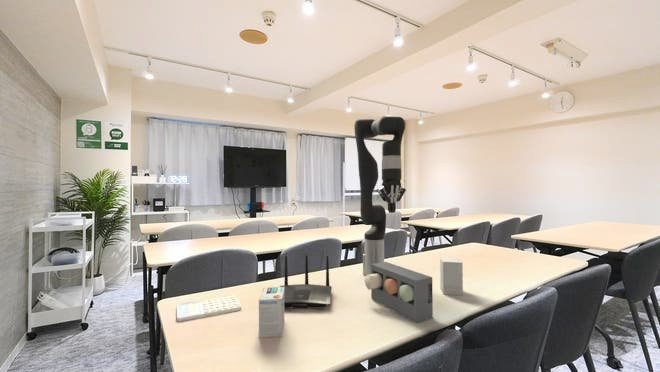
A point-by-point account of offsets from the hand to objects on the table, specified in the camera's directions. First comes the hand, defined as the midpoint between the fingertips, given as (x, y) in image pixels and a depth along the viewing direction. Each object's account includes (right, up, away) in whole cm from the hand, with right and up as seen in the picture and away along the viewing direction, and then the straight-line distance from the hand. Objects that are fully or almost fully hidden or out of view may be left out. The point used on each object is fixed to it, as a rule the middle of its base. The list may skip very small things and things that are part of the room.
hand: (391, 212), depth 117 cm
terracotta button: (-2, -26, -14) cm, 30 cm away
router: (-34, -33, -5) cm, 47 cm away
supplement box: (+24, -32, +3) cm, 40 cm away
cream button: (-8, -26, -9) cm, 29 cm away
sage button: (+2, -26, -20) cm, 33 cm away
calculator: (-66, -33, -12) cm, 75 cm away
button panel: (0, -32, -13) cm, 34 cm away
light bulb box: (-41, -32, -28) cm, 59 cm away
